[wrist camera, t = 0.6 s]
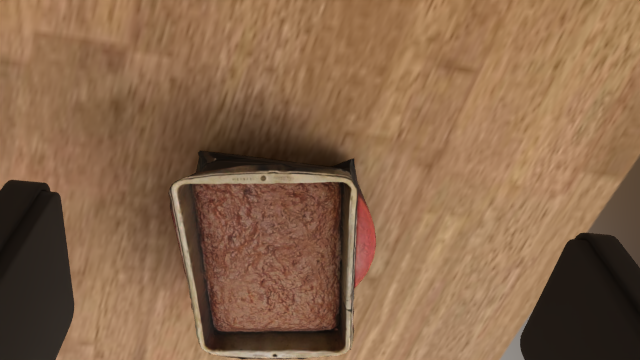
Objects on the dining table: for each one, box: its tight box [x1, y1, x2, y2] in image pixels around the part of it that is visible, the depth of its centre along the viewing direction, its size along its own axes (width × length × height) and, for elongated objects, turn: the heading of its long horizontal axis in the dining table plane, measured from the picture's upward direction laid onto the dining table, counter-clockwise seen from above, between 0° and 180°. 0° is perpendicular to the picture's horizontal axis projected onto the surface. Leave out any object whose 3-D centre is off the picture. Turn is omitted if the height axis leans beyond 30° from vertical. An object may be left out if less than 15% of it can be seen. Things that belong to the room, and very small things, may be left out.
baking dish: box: [169, 151, 376, 359], centre depth 41 cm, size 14×18×10 cm
